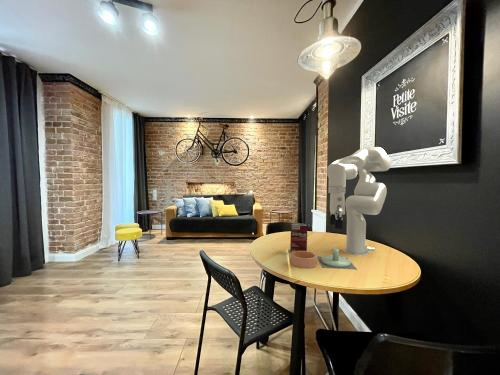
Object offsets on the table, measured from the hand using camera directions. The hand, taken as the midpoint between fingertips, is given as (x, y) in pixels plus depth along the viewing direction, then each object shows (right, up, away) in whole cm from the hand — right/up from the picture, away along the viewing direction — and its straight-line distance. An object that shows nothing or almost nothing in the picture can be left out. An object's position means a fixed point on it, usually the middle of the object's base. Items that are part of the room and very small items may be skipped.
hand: (335, 226), depth 109 cm
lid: (0, -17, +1) cm, 17 cm away
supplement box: (-14, -18, +17) cm, 28 cm away
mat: (0, -18, +1) cm, 18 cm away
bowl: (-15, -18, 0) cm, 24 cm away
